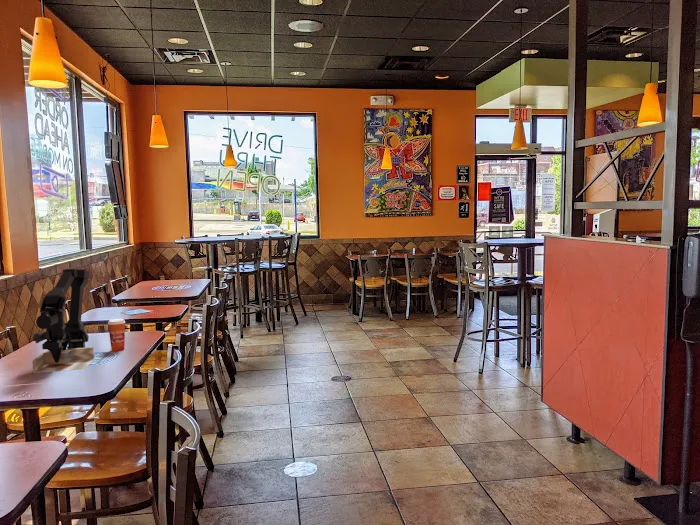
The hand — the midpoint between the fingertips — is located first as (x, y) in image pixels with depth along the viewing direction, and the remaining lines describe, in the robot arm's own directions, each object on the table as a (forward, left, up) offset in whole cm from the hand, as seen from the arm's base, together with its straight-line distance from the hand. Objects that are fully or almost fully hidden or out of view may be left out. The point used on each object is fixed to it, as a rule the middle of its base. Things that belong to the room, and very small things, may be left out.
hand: (58, 360), depth 222 cm
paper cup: (-19, -23, -3) cm, 30 cm away
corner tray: (-3, +1, -2) cm, 4 cm away
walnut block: (0, 0, -1) cm, 1 cm away
